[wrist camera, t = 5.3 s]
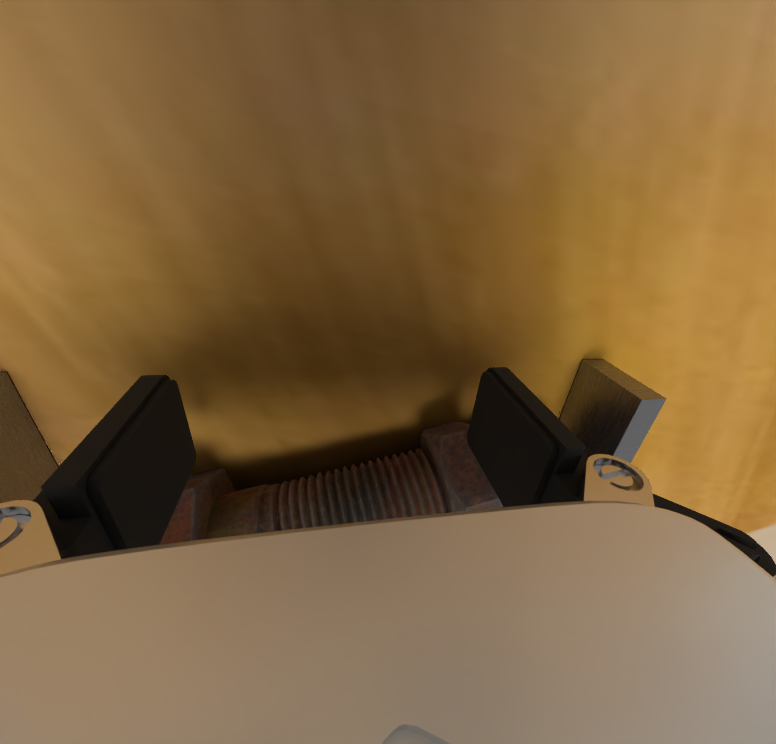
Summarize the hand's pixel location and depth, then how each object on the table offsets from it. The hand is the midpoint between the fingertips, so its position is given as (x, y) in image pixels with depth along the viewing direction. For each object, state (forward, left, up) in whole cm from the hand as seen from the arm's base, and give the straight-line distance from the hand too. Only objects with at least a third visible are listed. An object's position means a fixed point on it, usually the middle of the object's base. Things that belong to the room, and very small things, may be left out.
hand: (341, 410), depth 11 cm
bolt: (+5, +2, -3) cm, 5 cm away
